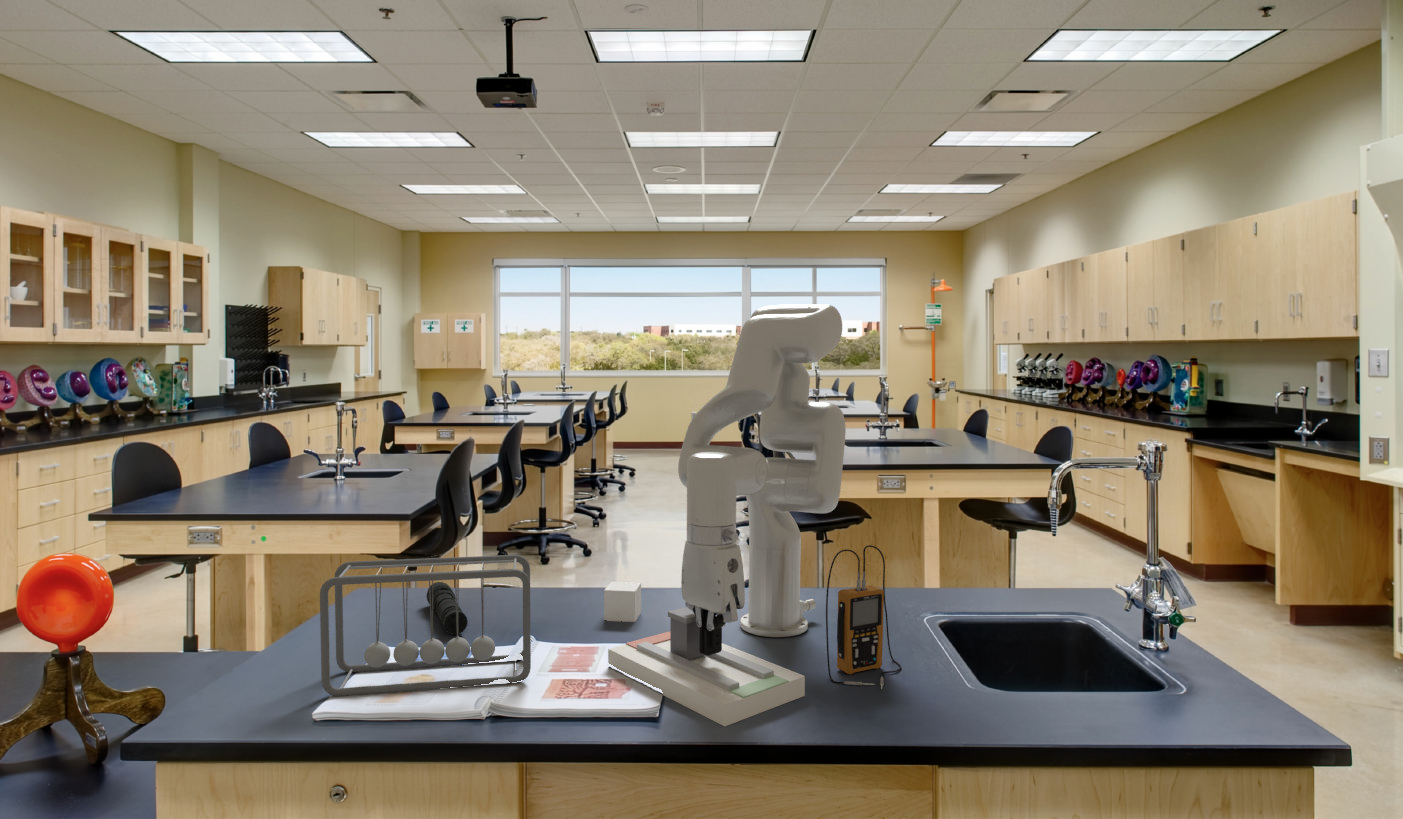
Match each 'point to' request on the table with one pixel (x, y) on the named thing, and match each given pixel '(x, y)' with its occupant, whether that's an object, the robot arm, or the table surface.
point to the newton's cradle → (431, 648)
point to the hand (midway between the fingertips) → (710, 652)
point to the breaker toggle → (684, 634)
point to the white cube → (622, 601)
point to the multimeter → (860, 626)
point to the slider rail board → (710, 678)
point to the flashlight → (447, 608)
